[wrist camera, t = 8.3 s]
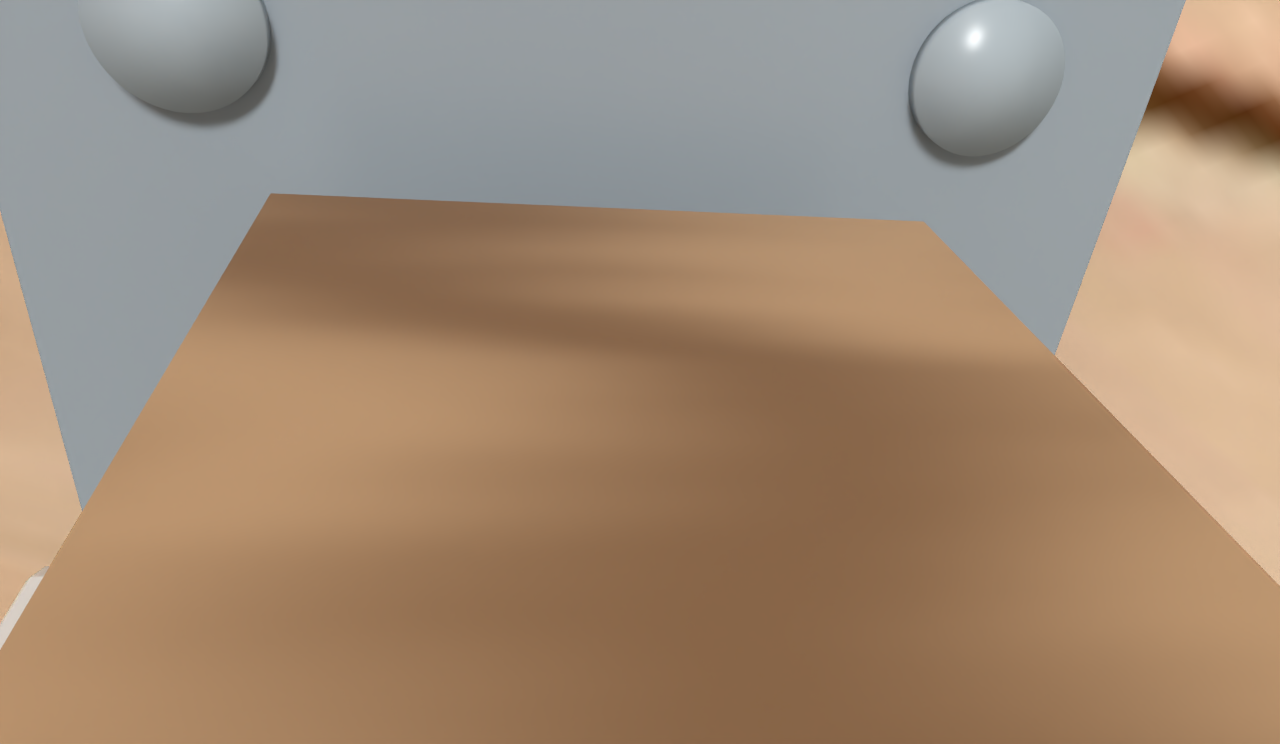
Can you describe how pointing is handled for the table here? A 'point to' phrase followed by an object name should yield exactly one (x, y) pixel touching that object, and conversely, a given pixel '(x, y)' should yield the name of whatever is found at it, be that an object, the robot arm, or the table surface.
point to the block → (630, 505)
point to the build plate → (537, 138)
